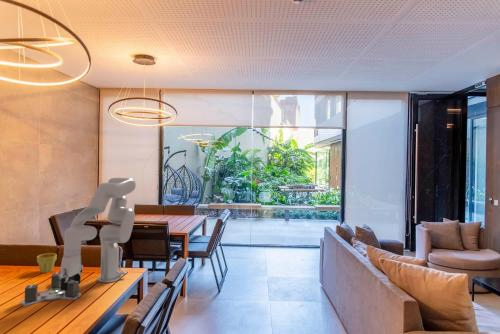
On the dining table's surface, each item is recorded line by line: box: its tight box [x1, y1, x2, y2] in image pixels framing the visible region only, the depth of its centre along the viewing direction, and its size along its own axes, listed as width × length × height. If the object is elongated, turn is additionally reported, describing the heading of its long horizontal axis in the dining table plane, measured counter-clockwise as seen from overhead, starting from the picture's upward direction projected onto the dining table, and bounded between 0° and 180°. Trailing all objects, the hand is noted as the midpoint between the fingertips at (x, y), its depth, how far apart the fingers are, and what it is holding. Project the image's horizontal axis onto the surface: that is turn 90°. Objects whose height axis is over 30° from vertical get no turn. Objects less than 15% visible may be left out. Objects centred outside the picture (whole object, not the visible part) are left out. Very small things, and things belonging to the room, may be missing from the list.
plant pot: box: [36, 252, 58, 274], centre depth 199 cm, size 10×10×10 cm
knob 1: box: [24, 284, 39, 302], centre depth 154 cm, size 5×4×7 cm
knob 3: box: [65, 280, 80, 297], centre depth 161 cm, size 5×4×7 cm
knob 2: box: [50, 271, 61, 289], centre depth 172 cm, size 5×4×7 cm
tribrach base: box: [20, 287, 83, 307], centre depth 164 cm, size 26×22×3 cm
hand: (70, 286), depth 160 cm, fingers open, 9 cm apart
